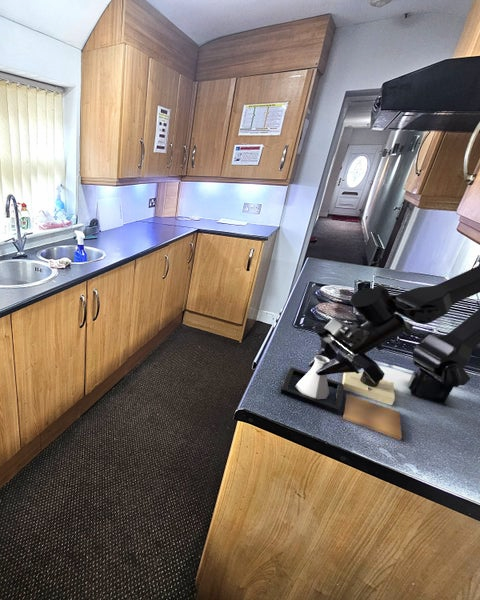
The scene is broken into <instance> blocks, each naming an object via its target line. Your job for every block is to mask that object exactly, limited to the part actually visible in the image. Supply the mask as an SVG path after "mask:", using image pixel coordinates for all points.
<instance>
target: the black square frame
mask: <svg viewBox="0 0 480 600" xmlns="http://www.w3.org/2000/svg"><path fill="white" fill-rule="evenodd" d="M308 372H309V371H304V370H302V369H298V368H295V367H293V366H290V367H289V368H288V370H287V373H286V375H285V378H284V381H283V383H282V385H281V389H280V394H281V395H284V396H287V397H289V398H292V399H295V400H297V401H300V402H302V403H305V404H308V405H311V406H313V407H316V408H319V409H321V410H324V411H326V412H329V413H332V414H335V415H339V413H340V411H341V409H342V404H343V397H344V386H343V384H342V382H338V381H335V380H332V379H329V378H327V383H328V388H332V389H335V397H334V403H333V404H332V403H330V402H326V401H324V400H322V399H316V398H313V397H310V396H307V395H305V394H302V393H301V392H300V391H296V390H293V389H290V388H289V385H290V383H291V380H292V377H293V376H297V377H298V378H301V379H302V378H303V377H304V376H305V375H306V374H307V373H308Z"/></svg>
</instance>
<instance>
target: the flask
mask: <svg viewBox="0 0 480 600" xmlns="http://www.w3.org/2000/svg"><path fill="white" fill-rule="evenodd" d="M314 356H315V355H314ZM314 360H315V362H314V365H313V366H312V368H310V369H309V370H308V371H307V372H308V373H307V374H306V375H305V376H304V377H303V378H302V377H301V379H300V380H298V382H297V383H296V385H294V388H295V389H296V390H297V391H298V392H299V393H302V394H305V395H307V396H310V397H313V398H316V399H318V400H326V399H327V398H328V397H329V395H330V391H329V389H330V388H329V386H328V383H327V379H328V377H327V375H317V374H316V372H317V371H318V370H319V369H320V368H322V367H323V366H325V365H326V364H328V363H329V362H331V361H332V360H330V359H328V358H327V357H324V356H321V355H318V356H315V358H314Z"/></svg>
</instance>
